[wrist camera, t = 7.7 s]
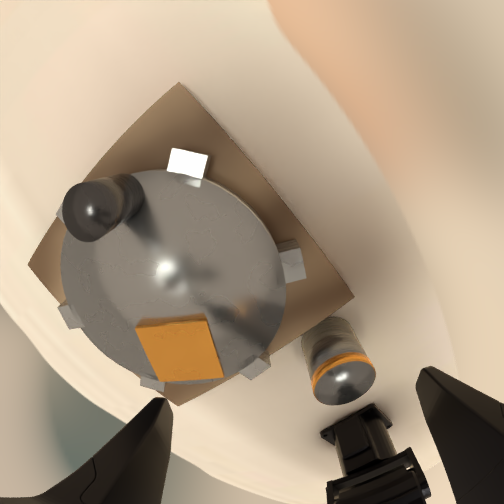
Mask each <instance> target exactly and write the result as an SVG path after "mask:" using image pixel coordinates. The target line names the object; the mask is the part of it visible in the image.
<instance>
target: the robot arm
mask: <svg viewBox="0 0 504 504" xmlns="http://www.w3.org/2000/svg"><path fill="white" fill-rule="evenodd" d="M416 391H417V394H418V397H419V401H420V404H421V407H422V410H423V414H424V417H425V420H426V423H427V425H428V427H429V430H430V432H431V435H432V437H433V439H434V442H435V444H436V447H437V449H438V452H439V455H440V457H441V460H442V462H443V465H444V467H445V470H446V473H447V476H448V479H449V481H450V484H451V488H452V491H453V493H454V496H455V500H456V503H457V504H504V404H503V403H500V402H499V401H497V400H495V399H493V398H491V397H489V396H487V395H485V394H483V393H482V392H480V391H478V390H476V389H474V388H472V387H470V386H468V385H466V384H465V383H463V382H461V381H459V380H457V379H455V378H453V377H451V376H450V375H448V374H446V373H444V372H442V371H440V370H438V369H437V368H435V367H433V366H429V367H425V368H423V369H422V370H421V371H420V374H419V377H418V380H417V382H416ZM391 426H392V422H391V421H390V420H389V419H388V418H387V417H386V416H385V415H384V414H383V413H382V412H381V411H380V410H379V409H378V407H377V406H376V405H374V404H372V405H369V406H367V407H366V408H364V409H362V410H361V411H359V412H357V413H356V414H354V415H352V416H350V417H349V418H347V419H345V420H343V421H341V422H339V423H338V424H336V425H334V426H332V427H330V428H328V429H326V430H324V431H322V432H321V433H320V435H321V438H323V439H325V440H326V441H328V442H330V443H331V444H333V445H335V446H336V450H337V454H338V458H339V462H340V465H341V469H342V473H343V477H342V478H339V479H336V480H331V481H328V482H327V487H326V493H327V504H426V501H425V499H427V498H429V497H431V492H430V488H429V486H428V483H427V480H426V478H425V475H424V473H423V471H422V469H421V467H420V465H419V463H418V461H417V459H416V457H415V455H414V453H413V451H412V449H411V447H409V448H407V449H405V451H403V452H401V453H399V454H397V452H396V450H395V448H394V445H393V443H392V440H391V438H390V436H389V433H388V431H387V429H389V428H390V427H391ZM172 427H173V412H172V410H171V407H170V405H169V402H168V400H167V399H166V398H162V397H155V398H153V399H152V400H151V401H150V402H149V403H148V404H147V405H146V406H145V407H144V408H143V409H142V410H141V411H140V412H139V413H138V414H137V415H136V416H135V417H134V418H133V419H132V420H131V421H130V422H129V423H127V424H126V425H125V426H124V427H123V428H122V429H121V430H120V431H119V432H118V433H117V434H116V435H115V436H114V437H113V438H112V439H111V440H110V441H109V442H107V443H106V444H105V445H104V446H103V447H102V448H101V449H100V450H99V451H98V452H97V453H96V454H94V455H93V457H91V458H90V459H89V460H88V461H87V462H86V463H84V464H83V465H82V466H81V467H80V468H79V469H77V470H76V471H75V472H74V473H72V474H71V475H69V476H68V477H67V478H65V479H64V480H62V481H61V482H59V483H58V484H56V485H55V486H53V487H52V488H50V489H49V490H47V491H46V492H44V493H43V494H40V495H37V496H34V497H21V498H3V497H2V498H1V497H0V504H161V499H162V494H163V488H164V483H165V478H166V473H167V468H168V463H169V458H170V452H171V439H172ZM408 467H410V469H408V470H406V468H408Z"/></svg>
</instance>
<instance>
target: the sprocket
mask: <svg viewBox="0 0 504 504" xmlns="http://www.w3.org/2000/svg"><path fill="white" fill-rule="evenodd" d="M210 158H211V155H207V154H202V153H198V152H193V151H189V150H184V149H179V148H172V151H171V155H170V160H169V164H168V168H167V169H155V170H148V171H141V172H137V173H133V174H125V173H121V174H116V175H112V176H107V177H103V178H99V179H95V180H91V181H87V182H83V183H79V184H76V185H75V186H73V187H72V188H70V190H69V191H68V192H67V193H66V195H65V197H64V200H63V203H62V204H61V206H60V208H59V210H58V211H57V213H56V215H57V216H58V217H59V219H60V220H61V221H62V222H63V223H64V224H65V226H66V228H67V231H66V234H65V237H64V240H63V245H62V250H61V263H60V268H61V280H62V285H63V290H64V294H65V297H66V300H65V301H64V302H62V303H61V304H60V306H59V307H58V309H59V311H60V313H61V315H62V317H63V319H64V321H65V322H66V324H67V326H68V328H69V329H75V328H81V329H82V330H83V332H84V333H85V334H86V336H87V337H88V338H89V339H90V340H91V342H92V343H93V344H94V345H95V346H96V347H97V348H98V349H99V350H100V351H102V352H103V353H104V354H105V355H106V356H107V357H109V358H110V359H112V360H113V361H114V362H116V363H117V364H119V365H121V366H122V367H124V368H126V369H128V370H129V371H132V372H134V373H136V374H138V375H141V380H140V386H143V387H147V388H150V389H154V390H157V391H161V392H164V390H165V386H166V383H173V384H201V383H207V382H212V381H216V380H220V379H223V378H226V377H228V376H231V375H233V374H235V373H237V372H239V373H241V374H242V375H244V376H245V377H247V378H248V379H250V380H252V379H253V378H255V377H256V376H258V375H259V374H261V373H262V372H264V371H265V370H267V369H268V368H269V367H271V364H270V356H269V352H268V351H267V350H266V349H267V347H268V346H269V345H270V343H271V342H272V340H273V339H274V337H275V335H276V333H277V331H278V329H279V327H280V324H281V321H282V318H283V314H284V309H285V302H286V283H290V282H294V281H298V280H302V279H306V273H305V268H304V263H303V258H302V253H301V248H300V246H299V244H298V243H297V241H296V239H294V240H290V241H286V242H282V243H278V244H275V242H274V240H273V238H272V235H271V233H270V231H269V229H268V228H267V226H266V225H265V223H264V222H263V220H262V219H261V217H260V216H259V215H258V214H257V213H256V211H255V210H254V209H253V208H252V207H251V206H250V205H249V204H248V203H247V202H246V201H245V200H244V199H242V198H241V197H240V196H239V195H238V194H237V193H235V192H234V191H232V190H231V189H229V188H228V187H226V186H224V185H223V184H221V183H219V182H217V181H215V180H213V179H211V178H208V177H206V174H207V170H208V166H209V162H210Z"/></svg>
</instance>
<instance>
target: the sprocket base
mask: <svg viewBox="0 0 504 504" xmlns="http://www.w3.org/2000/svg"><path fill="white" fill-rule="evenodd" d="M172 148H179V149H184V150H189V151H193V152H198V153H202V154H207V155H211V158H210V162H209V166H208V170H207V174H206V177H208V178H211V179H213V180H215V181H217V182H219V183H221V184H223V185H224V186H226V187H228V188H229V189H231V190H232V191H234V192H235V193H237V194H238V195H239V196H240V197H241V198H242V199H244V200H245V201H246V202H247V203H248V204H249V205H250V206H251V207H252V208H253V209H254V210H255V211H256V213H257V214H258V215H259V216H260V217H261V219H262V220H263V222H264V223H265V225H266V226H267V228H268V229H269V231H270V233H271V235H272V238H273V240H274V242H275V244H278V243H282V242H286V241H290V240H294V239H296V241H297V243H298V244H299V246H300V248H301V253H302V258H303V263H304V268H305V273H306V279H302V280H298V281H294V282H290V283H286V302H285V309H284V314H283V318H282V321H281V324H280V327H279V329H278V331H277V333H276V335H275V337H274V339H273V340H272V342H271V343H270V345H269V346H268V347H267V349H266V350H267V351H268V352H269V355H271V354H273V353H274V352H276V351H277V350H279V349H280V348H282V347H284V346H285V345H287V344H288V343H290V342H291V341H293V340H294V339H296V338H297V337H299V336H300V335H302V334H303V333H305V332H306V331H308V330H309V329H311V328H312V327H314V326H315V325H317V324H318V323H320V322H321V321H322V320H324V319H325V318H327V317H328V316H329V315H331V314H332V313H334V312H335V311H336V310H338V309H339V308H341V307H342V306H343V305H345V304H346V303H347V302H349V301H350V300H351V299H353V298H354V297H355V296H354V295H353V293H352V292H351V291H350V289H349V288H348V286H347V285H346V284H345V282H344V281H343V279H342V278H341V277H340V275H339V274H338V272H337V271H336V270H335V268H334V267H333V266H332V264H331V263H330V262H329V260H328V259H327V258H326V256H325V255H324V253H323V252H322V251H321V249H320V248H319V247H318V245H317V244H316V243H315V242H314V240H313V239H312V238H311V236H310V235H309V234H308V232H307V231H306V230H305V228H304V227H303V226H302V225H301V223H300V222H299V221H298V219H297V218H296V217H295V216H294V214H293V213H292V212H291V211H290V209H289V208H288V207H287V205H286V204H285V203H284V202H283V200H282V199H281V198H280V197H279V195H278V194H277V193H276V192H275V191H274V189H273V188H272V187H271V186H270V184H269V183H268V182H267V181H266V180H265V178H264V177H263V176H262V175H261V174H260V172H259V171H258V170H257V169H256V168H255V166H254V165H253V164H252V163H251V162H250V160H249V159H248V158H247V157H246V156H245V155H244V153H243V152H242V151H241V150H240V149H239V148H238V146H237V145H236V144H235V143H234V142H233V141H232V139H231V138H230V137H229V136H228V135H227V134H226V133H225V131H224V130H223V129H222V128H221V127H220V126H219V125H218V124H217V122H216V121H215V120H214V119H213V118H212V117H211V116H210V115H209V114H208V112H207V111H206V110H205V109H204V108H203V107H202V106H201V105H200V104H199V103H198V102H197V100H196V99H195V98H194V97H193V96H192V95H191V94H190V93H189V92H188V91H187V90H186V89H185V88H184V87H183V86H182V85H181V83H180V82H178V83H177V84H176V85H175V86H174V87H172V88H171V89H170V90H169V91H168V92H167V93H165V94H164V95H163V96H162V97H161V98H160V99H159V100H158V101H157V102H156V103H154V104H153V105H152V106H151V107H150V108H149V109H148V110H147V111H146V112H145V113H144V114H143V115H142V116H141V117H140V118H139V119H138V120H137V121H136V122H135V123H134V124H133V125H132V126H131V127H130V128H129V129H128V130H127V131H126V132H125V133H124V134H123V135H122V136H121V137H120V138H119V139H118V141H117V142H116V143H115V144H114V145H113V146H112V147H111V148H110V149H109V150H108V152H107V153H106V154H105V155H104V156H103V157H102V158H101V160H100V161H99V162H98V163H97V164H96V166H95V167H94V168H93V169H92V170H91V172H90V173H89V174H88V175H87V177H86V178H85V179H84V180H83V182H87V181H91V180H95V179H99V178H103V177H107V176H112V175H116V174H121V173H125V174H133V173H137V172H141V171H148V170H155V169H167V168H168V164H169V160H170V155H171V151H172ZM83 182H82V183H83ZM66 231H67V228H66V226H65V224H64V223H63V222H62V221H61V220H60V219H59V217H58V216H57V217H56V219H55V220H54V222H53V223H52V225H51V226H50V228H49V229H48V231H47V233H46V234H45V236H44V237H43V239H42V241H41V242H40V244H39V246H38V247H37V249H36V251H35V252H34V254H33V256H32V258H31V259H30V261H29V263H28V266H29V267H30V268H31V270H32V271H33V272H34V274H35V275H36V276H37V277H38V278H39V280H40V281H41V282H42V283H43V285H44V286H45V287H46V288H47V289H48V290H49V292H50V293H51V294H52V295H53V296H54V297H55V298H56V300H57V301H58V302H59V303H60V304H61V303H62V302H64V301H65V300H66V297H65V294H64V290H63V285H62V280H61V268H60V263H61V250H62V245H63V240H64V237H65V234H66ZM133 373H134V372H133ZM134 374H135V375H137V376H138V377H139V378H140V379H141V375H138V374H136V373H134ZM238 374H239V372H237V373H235V374H233V375H231V376H228V377H226V378H223V379H220V380H216V381H212V382H207V383H201V384H173V383H166V386H165V390H164V392H161V391H157V390H156V391H157V392H159V393H160V394H161V395H163V396H164V397H165V398H167V399H168V400H170V401H171V402H172V403H174V404H175V405H177V406H180V405H182V404H184V403H186V402H188V401H190V400H192V399H194V398H196V397H198V396H199V395H201V394H203V393H205V392H207V391H209V390H211V389H213V388H214V387H216V386H218V385H220V384H222V383H223V382H225V381H227V380H229V379H231V378H232V377H234V376H236V375H238Z"/></svg>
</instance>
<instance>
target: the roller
mask: <svg viewBox="0 0 504 504" xmlns="http://www.w3.org/2000/svg"><path fill="white" fill-rule="evenodd" d="M301 344H302V349H303V353H304V356H305V360H306V364H307V367H308V371H309V375H310V378H311V385H312V389H313V393H314V396H315V398H316V399H317V400H318V401H319V402H321V403H323V404H327V405H341V404H346V403H349V402H351V401H354V400H356V399H357V398H359V397H361V396H362V395H363V394H365V393H366V392H367V391H368V390H369V388H370V387H371V386H372V384H373V382H374V380H375V377H376V372H375V369H374V367H373V365H372V363H371V361H370V359H369V358H368V357H367V355H366V353H365V352H364V350H363V348H362V346H361V344H360V342H359V340H358V339H357V337H356V335H355V333H354V331H353V330H352V328H351V326H350V324H349V323H348V322H347V321H346V320H344V319H342V318H338V317H327V318H325V319H324V320H322V321H321V322H320V323H318V324H317V325H315V326H314V327H312V328H311V329H309V330H308V331H306V332H305V333H304V334H303V337H302V341H301Z"/></svg>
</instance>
